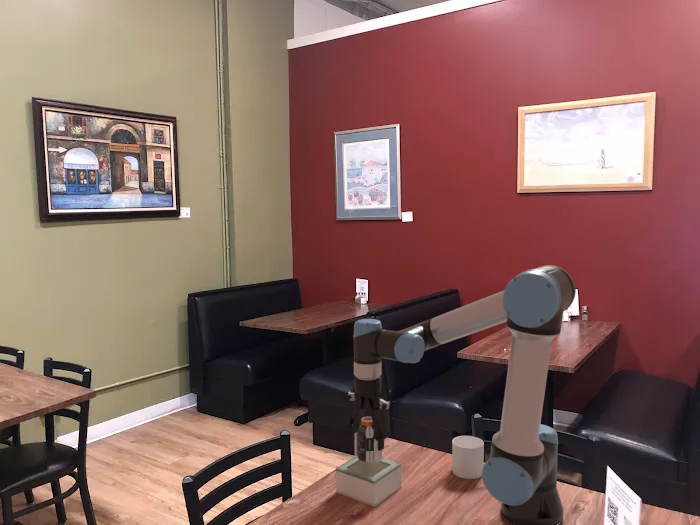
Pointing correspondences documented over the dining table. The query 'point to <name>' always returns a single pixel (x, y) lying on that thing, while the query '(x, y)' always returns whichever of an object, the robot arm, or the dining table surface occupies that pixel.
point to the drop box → (368, 480)
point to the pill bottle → (366, 440)
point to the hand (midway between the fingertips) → (368, 457)
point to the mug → (467, 457)
